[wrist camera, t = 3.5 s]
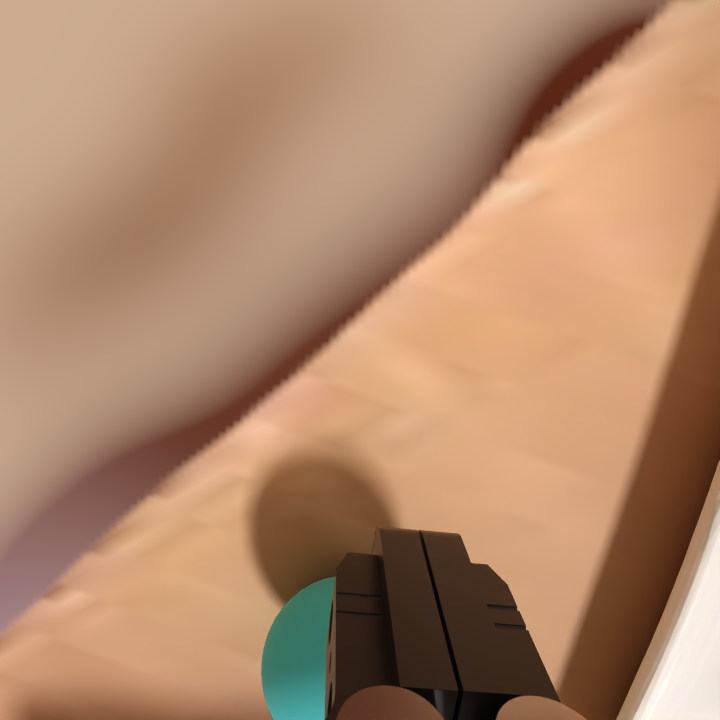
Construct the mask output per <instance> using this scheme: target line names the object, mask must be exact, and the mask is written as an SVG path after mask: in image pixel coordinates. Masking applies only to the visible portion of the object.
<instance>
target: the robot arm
mask: <svg viewBox="0 0 720 720" xmlns="http://www.w3.org/2000/svg"><path fill="white" fill-rule="evenodd" d="M325 689H326V690H325V717H324V720H586V719H585V718H584V717H583V716H581V715H580V714H579V713H577V712H576V711H574V710H573V709H571V708H569V707H568V706H566V705H564V704H562V703H561V702H560V700H559V698H558V695H557V693H556V691H555V689H554V686H553V684H552V682H551V680H550V678H549V675H548V673H547V671H546V669H545V667H544V664H543V662H542V660H541V658H540V656H539V653H538V651H537V649H536V647H535V645H534V642H533V640H532V638H531V636H530V634H529V631H528V630H526V625H525V623H524V620H523V618H522V616H521V614H520V612H519V611H517V605H516V603H515V601H514V598H513V596H512V594H511V592H510V590H509V587H508V585H507V584H506V583H505V582H504V581H503V580H502V579H501V578H500V577H499V576H498V575H497V574H496V573H495V572H494V571H493V570H492V569H491V568H490V567H489V566H488V565H486V564H474V563H471V562H470V559H469V556H468V554H467V551H466V548H465V546H464V543H463V541H462V538H461V536H460V535H459V534H456V533H445V532H434V531H423V530H419V531H417V530H410V529H399V528H388V527H377V529H376V532H375V538H374V544H373V551H372V555H369V554H358V553H347V555H346V556H345V558H344V559H343V560H342V562H341V563H340V565H339V566H338V568H337V569H336V574H335V582H334V589H333V597H332V604H331V612H330V620H329V627H328V635H327V642H326V679H325Z"/></svg>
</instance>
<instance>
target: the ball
mask: <svg viewBox="0 0 720 720" xmlns="http://www.w3.org/2000/svg"><path fill="white" fill-rule="evenodd" d="M334 582H335V577H330V578H326V579H323V580H319V581H317V582H315V583H312V584H310V585H308V586H307V587H305V588H303V589H302V590H301V591H299V592H298V593H297V594H296V595H294V596H293V597H292V598H291V599H290V600H289V601H288V602H287V603H286V604H285V606H284V607H283V608H282V610H281V611H280V612H279V614H278V615H277V617H276V618H275V620H274V622H273V624H272V626H271V628H270V630H269V633H268V636H267V639H266V642H265V646H264V651H263V656H262V672H261V675H262V685H263V692H264V696H265V700H266V703H267V706H268V709H269V711H270V713H271V716H272V718H273V720H324V717H325V690H326V689H325V679H326V642H327V635H328V627H329V620H330V612H331V604H332V597H333V589H334Z"/></svg>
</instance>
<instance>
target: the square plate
mask: <svg viewBox="0 0 720 720" xmlns="http://www.w3.org/2000/svg"><path fill="white" fill-rule="evenodd" d="M616 720H720V460H719V463H718V466H717V469H716V472H715V475H714V478H713V480H712V483H711V486H710V489H709V492H708V495H707V498H706V501H705V503H704V506H703V509H702V512H701V514H700V517H699V520H698V523H697V525H696V528H695V531H694V534H693V536H692V539H691V542H690V545H689V547H688V550H687V553H686V556H685V558H684V561H683V564H682V566H681V569H680V571H679V574H678V576H677V579H676V582H675V584H674V587H673V589H672V592H671V595H670V597H669V600H668V602H667V605H666V607H665V610H664V612H663V615H662V617H661V619H660V622H659V624H658V626H657V629H656V631H655V634H654V636H653V638H652V641H651V643H650V645H649V647H648V650H647V652H646V654H645V656H644V659H643V661H642V663H641V665H640V668H639V670H638V672H637V674H636V677H635V679H634V681H633V683H632V685H631V688H630V690H629V692H628V694H627V697H626V699H625V701H624V703H623V706H622V708H621V710H620V712H619V715H618V717H617V719H616Z"/></svg>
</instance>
